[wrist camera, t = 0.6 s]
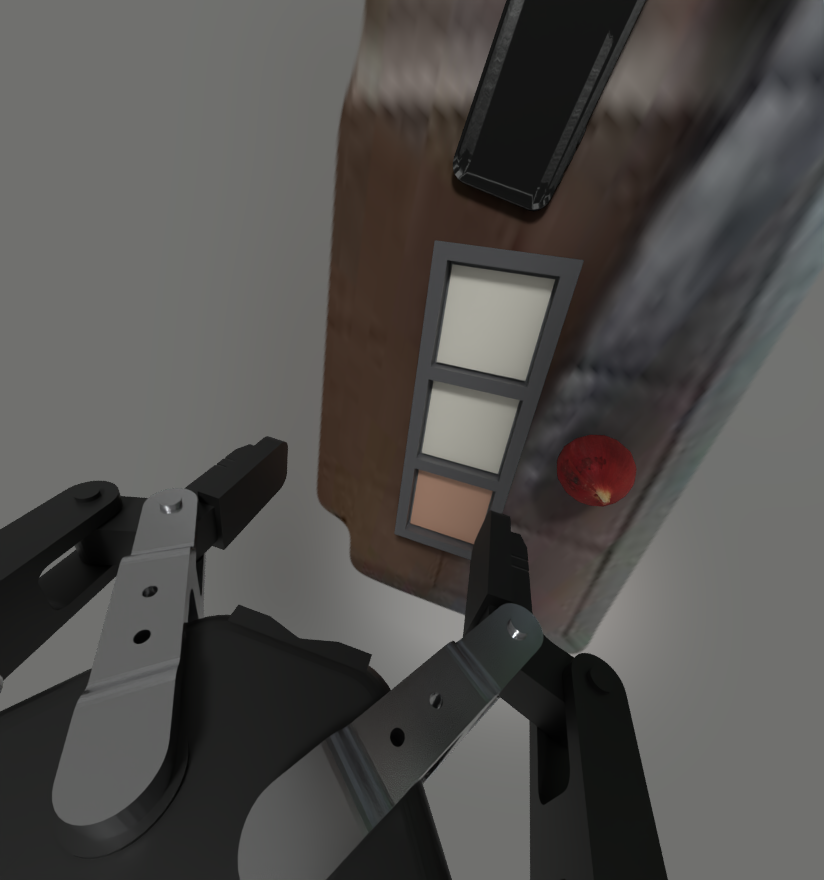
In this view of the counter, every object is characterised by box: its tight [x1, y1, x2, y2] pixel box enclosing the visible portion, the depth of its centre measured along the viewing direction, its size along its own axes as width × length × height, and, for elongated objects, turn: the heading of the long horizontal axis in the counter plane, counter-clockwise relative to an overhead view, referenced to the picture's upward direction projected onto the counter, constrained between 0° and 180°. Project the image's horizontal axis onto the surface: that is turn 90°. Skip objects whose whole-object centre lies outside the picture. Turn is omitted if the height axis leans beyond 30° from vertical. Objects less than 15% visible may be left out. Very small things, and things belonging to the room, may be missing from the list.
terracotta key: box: [410, 470, 493, 544], centre depth 38 cm, size 8×8×1 cm
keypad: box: [395, 240, 584, 560], centre depth 34 cm, size 30×11×3 cm, turn 171°
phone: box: [453, 0, 646, 211], centre depth 22 cm, size 8×1×15 cm
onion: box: [557, 435, 636, 506], centre depth 29 cm, size 6×6×8 cm
